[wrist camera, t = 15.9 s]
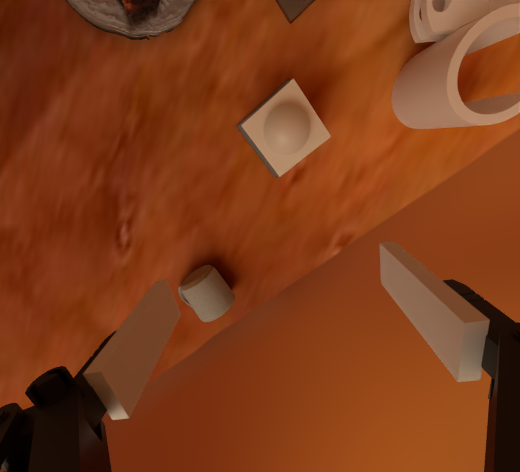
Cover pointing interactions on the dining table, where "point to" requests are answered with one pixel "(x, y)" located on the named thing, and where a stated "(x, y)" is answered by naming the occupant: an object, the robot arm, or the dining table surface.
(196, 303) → the ceramic mug
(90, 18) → the food plate
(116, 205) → the dining table surface
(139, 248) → the dining table surface
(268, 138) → the beige block piece
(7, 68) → the dining table surface
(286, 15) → the post
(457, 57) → the bracket
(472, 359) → the robot arm
